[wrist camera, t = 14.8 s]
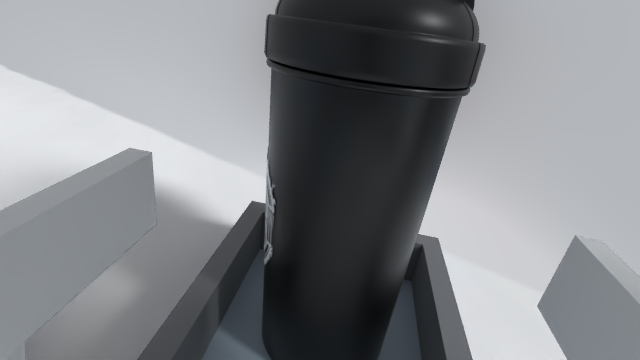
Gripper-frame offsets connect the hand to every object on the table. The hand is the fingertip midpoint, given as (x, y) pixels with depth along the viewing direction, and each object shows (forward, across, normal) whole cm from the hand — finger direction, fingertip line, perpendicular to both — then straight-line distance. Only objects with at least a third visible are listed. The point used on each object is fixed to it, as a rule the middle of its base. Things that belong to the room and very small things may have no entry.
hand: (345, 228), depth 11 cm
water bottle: (+9, 0, -14) cm, 17 cm away
